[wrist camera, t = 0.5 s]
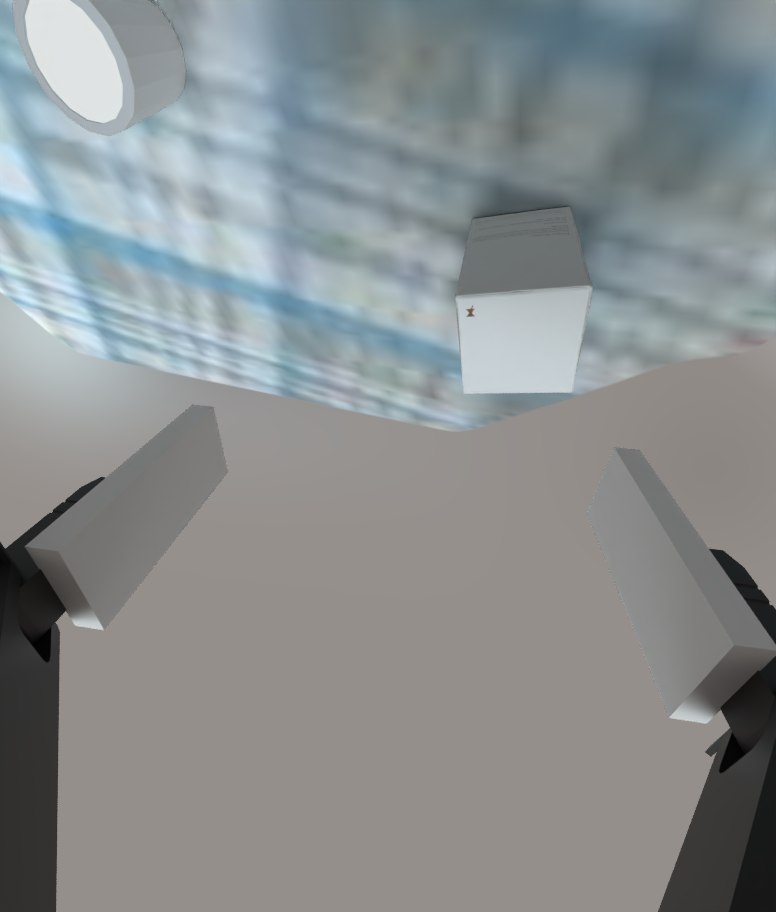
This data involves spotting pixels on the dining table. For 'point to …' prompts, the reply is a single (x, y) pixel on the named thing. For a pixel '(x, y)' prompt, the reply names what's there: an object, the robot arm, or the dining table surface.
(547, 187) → the dining table surface
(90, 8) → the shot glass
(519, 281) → the supplement box
